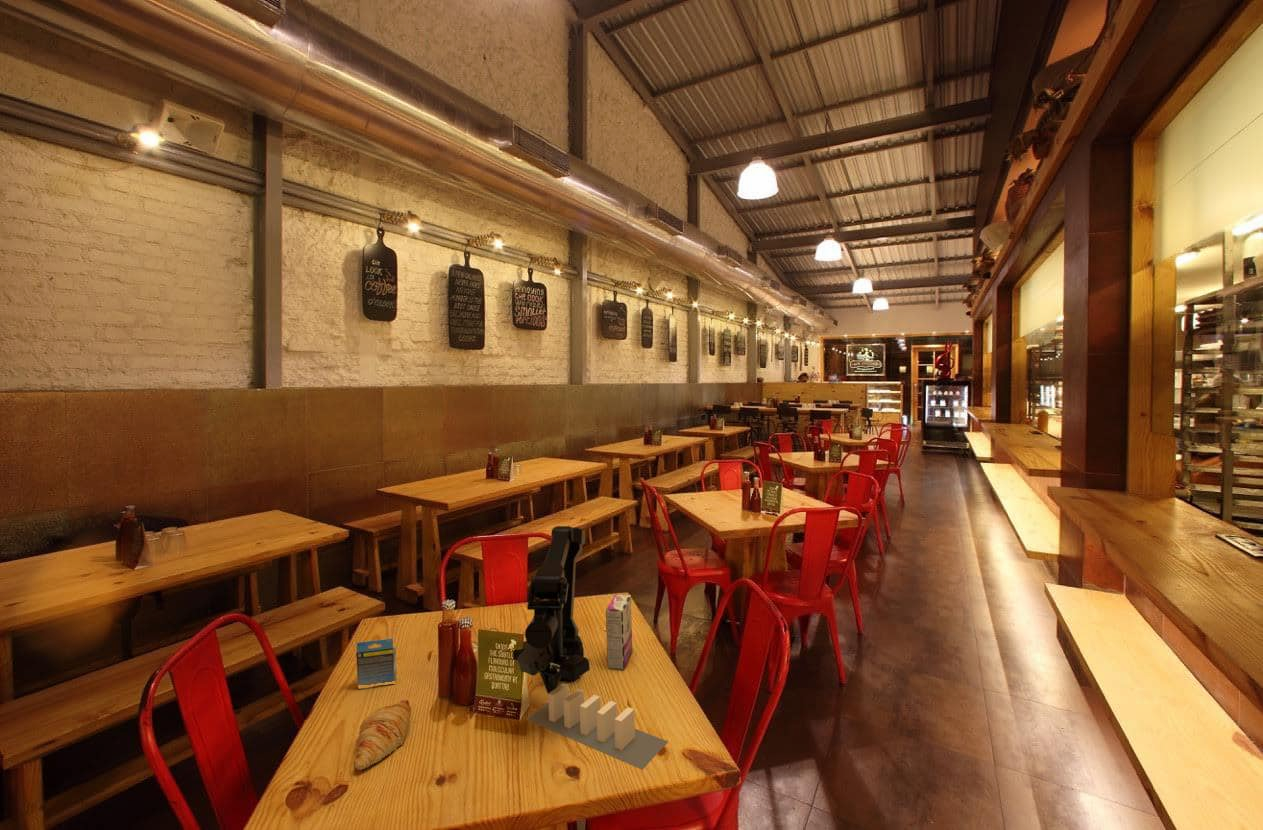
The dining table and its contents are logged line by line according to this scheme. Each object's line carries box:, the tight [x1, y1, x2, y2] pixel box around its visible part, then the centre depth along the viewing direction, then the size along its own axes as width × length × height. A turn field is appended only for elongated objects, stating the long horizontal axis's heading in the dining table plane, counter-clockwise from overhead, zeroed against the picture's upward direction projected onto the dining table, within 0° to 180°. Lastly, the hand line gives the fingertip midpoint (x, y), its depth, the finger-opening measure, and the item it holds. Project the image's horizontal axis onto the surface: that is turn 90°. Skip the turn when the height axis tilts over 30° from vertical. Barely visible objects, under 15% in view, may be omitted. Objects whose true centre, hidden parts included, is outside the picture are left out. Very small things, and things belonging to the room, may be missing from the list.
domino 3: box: [580, 694, 601, 736], centre depth 118 cm, size 2×5×6 cm, turn 146°
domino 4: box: [597, 700, 618, 743], centre depth 116 cm, size 2×5×6 cm, turn 146°
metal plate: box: [525, 702, 669, 770], centre depth 118 cm, size 31×10×1 cm, turn 57°
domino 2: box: [564, 688, 585, 729], centre depth 121 cm, size 2×5×6 cm, turn 146°
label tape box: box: [355, 637, 398, 686], centre depth 140 cm, size 9×4×12 cm, turn 105°
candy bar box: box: [605, 594, 633, 671], centre depth 150 cm, size 11×5×16 cm, turn 168°
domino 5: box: [615, 706, 636, 750], centre depth 113 cm, size 2×5×6 cm, turn 147°
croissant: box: [354, 699, 412, 771], centre depth 117 cm, size 21×10×8 cm, turn 0°
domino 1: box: [547, 683, 570, 722], centre depth 123 cm, size 2×5×6 cm, turn 147°
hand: (551, 695), depth 124 cm, fingers closed
